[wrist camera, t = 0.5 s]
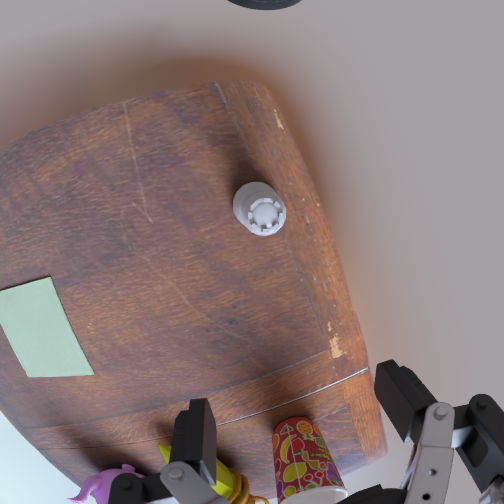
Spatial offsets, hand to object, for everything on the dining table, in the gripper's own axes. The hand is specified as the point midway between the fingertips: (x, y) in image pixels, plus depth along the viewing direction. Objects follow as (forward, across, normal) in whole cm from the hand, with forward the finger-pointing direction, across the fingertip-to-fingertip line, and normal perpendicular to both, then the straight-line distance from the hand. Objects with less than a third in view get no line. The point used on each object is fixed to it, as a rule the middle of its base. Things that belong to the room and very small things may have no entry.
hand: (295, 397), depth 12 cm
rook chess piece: (+19, -1, -6) cm, 20 cm away
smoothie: (+19, -2, +26) cm, 32 cm away
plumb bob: (+19, +12, +33) cm, 40 cm away
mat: (+19, +30, +5) cm, 36 cm away
